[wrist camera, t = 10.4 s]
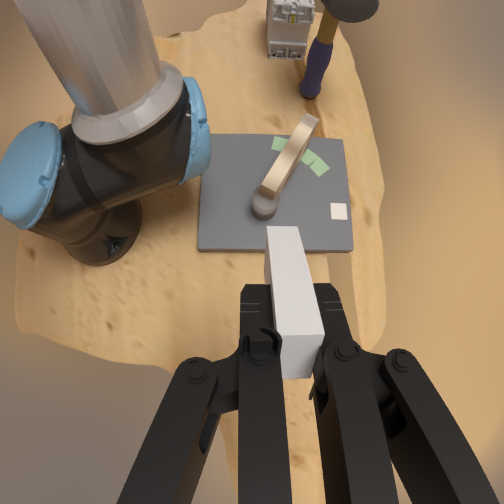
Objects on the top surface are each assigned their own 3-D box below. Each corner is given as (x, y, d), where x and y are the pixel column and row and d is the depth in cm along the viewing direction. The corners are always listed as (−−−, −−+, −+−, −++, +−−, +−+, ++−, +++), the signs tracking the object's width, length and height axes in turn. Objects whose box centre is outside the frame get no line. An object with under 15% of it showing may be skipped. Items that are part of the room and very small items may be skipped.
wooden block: (268, 224, 43) (274, 207, 35) (247, 212, 44) (247, 192, 36) (312, 148, 46) (324, 121, 38) (292, 138, 46) (300, 110, 38)
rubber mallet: (333, 118, 50) (391, -9, 20) (294, 118, 50) (330, -22, 20) (320, 72, 52) (356, -46, 22) (284, 71, 52) (306, -55, 22)
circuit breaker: (295, 24, 55) (304, -23, 40) (303, 60, 53) (316, 7, 38) (264, 23, 55) (268, -26, 40) (268, 58, 52) (273, 4, 38)
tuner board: (200, 251, 45) (197, 248, 43) (206, 141, 48) (205, 134, 46) (348, 252, 46) (353, 250, 43) (338, 146, 49) (342, 139, 46)
